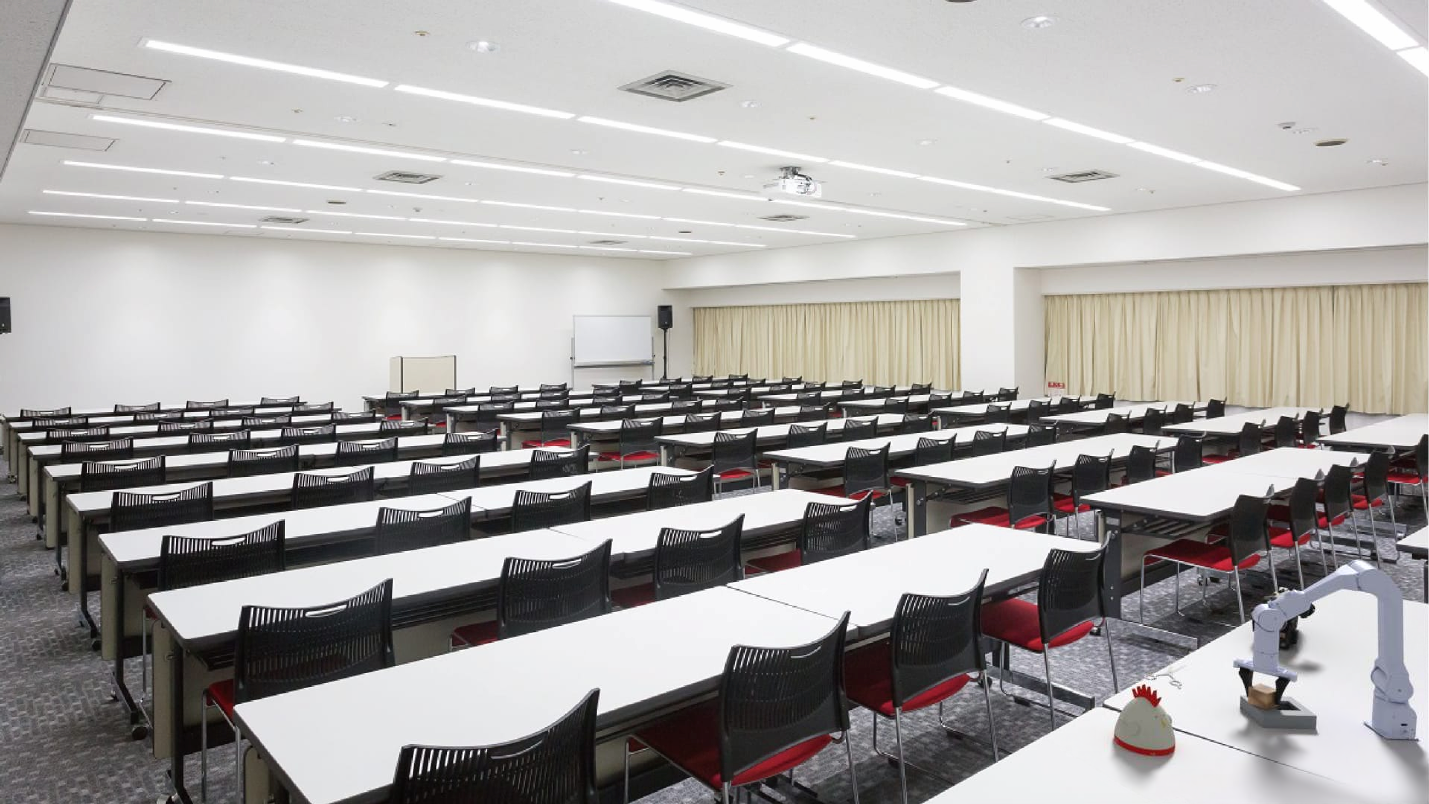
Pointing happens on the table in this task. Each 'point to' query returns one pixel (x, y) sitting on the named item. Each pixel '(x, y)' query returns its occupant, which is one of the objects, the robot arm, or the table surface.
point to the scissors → (1169, 675)
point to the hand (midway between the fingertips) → (1263, 700)
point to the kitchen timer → (1145, 725)
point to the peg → (1262, 696)
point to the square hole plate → (1281, 714)
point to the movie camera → (1288, 630)
